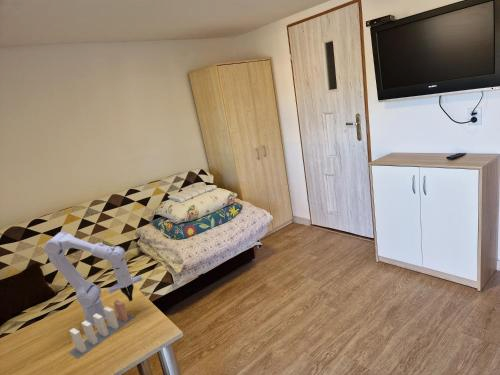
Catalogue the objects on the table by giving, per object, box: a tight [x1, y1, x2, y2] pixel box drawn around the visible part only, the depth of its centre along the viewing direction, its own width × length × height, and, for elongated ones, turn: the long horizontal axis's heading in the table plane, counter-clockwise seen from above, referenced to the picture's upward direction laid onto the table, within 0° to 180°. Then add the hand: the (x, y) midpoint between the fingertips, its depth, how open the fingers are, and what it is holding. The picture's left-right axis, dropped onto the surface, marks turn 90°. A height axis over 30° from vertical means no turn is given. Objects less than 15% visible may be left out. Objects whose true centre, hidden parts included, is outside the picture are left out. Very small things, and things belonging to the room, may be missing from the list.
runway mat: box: [68, 313, 136, 360], centre depth 146 cm, size 8×27×1 cm, turn 143°
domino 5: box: [113, 299, 129, 322], centre depth 153 cm, size 5×2×9 cm, turn 52°
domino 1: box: [69, 327, 86, 353], centre depth 138 cm, size 5×2×9 cm, turn 53°
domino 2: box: [80, 320, 98, 345], centre depth 141 cm, size 5×2×9 cm, turn 53°
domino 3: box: [93, 313, 109, 337], centre depth 145 cm, size 5×2×9 cm, turn 53°
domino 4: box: [103, 306, 119, 329], centre depth 149 cm, size 5×2×9 cm, turn 53°
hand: (130, 300), depth 156 cm, fingers closed
